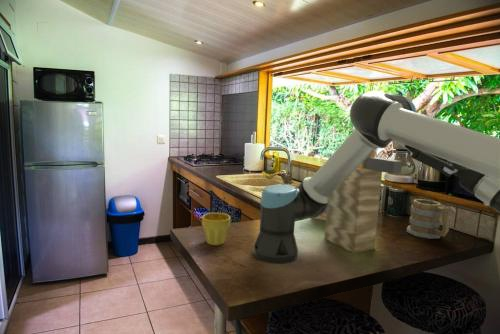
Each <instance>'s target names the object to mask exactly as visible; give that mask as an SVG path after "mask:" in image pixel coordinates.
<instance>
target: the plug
mask: <svg viewBox="0 0 500 334" xmlns="http://www.w3.org/2000/svg"><path fill="white" fill-rule="evenodd" d="M402 165H403V161H402V160H396V159H391V158H382V157H378V156H377V157H376V150H375V151H374V152H373V153H372V154H371V155H370V156H369V157H368V158H367V159H366V160H365V161H364V162H363V163H362V164H361V165H360V166H359V167H358V168H365V169H370V170H375V171H380V172H382V173H386V174H392V175H396V174H397V175H398V174H402V167H403V166H402Z"/></svg>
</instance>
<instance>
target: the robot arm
mask: <svg viewBox="0 0 500 334" xmlns="http://www.w3.org/2000/svg"><path fill="white" fill-rule="evenodd" d="M349 118H350V122H351V125H352V126H353V127H354V130H353V131H352V132H351V133H350V135H348V137H347V138H346V139H345V140H344V141H343V142H342V143H341V144H340V146H339V147H338V148H337V149H336V150H335V151H334V152H333V153H332V154H331V156H330V157H329V158H328V159H327V160H326V161H325V162H324V163H323V164H322V166H320V168H319V169H318V170H317V171H316V172H315V173H314V174H313V175H312V176H306V177H305V178H304V179H303V180H302V181H301V182H300V183H299V185H297V186H296V187H295V186H294V185H292V184H291V185H290V184H273V185H269V186H266V187H265V188H263V190H262V191H261V199H260V212H259V213H260V214H259V215H260V216H259V217H260V218H259V219H260V220H259V232H258V235H257V236H256V240H255V242H254V245H253V256H254V257H255V258H256V259H258V260H261V261H262V262H267V263H269V264H270V263H271V264H273V263H274V264H287V263H288V264H289V263H291V262H294V261H296V260H297V259H298V256H299V248H298V243H297V241H296V237H295V226H296V225H295V222H300V221H303V220H309V219H315V217H318V216H320V215H322V214H323V213H324V212H325V211H326V210H327V208H328V206H329V204H328V203H329V202H330V200H331V193H332V192H333V191H334V190H335V189H336V188H337V187H338V186H339V185H340V184H342V183H343V182H344V181H345V180H346V179H347V178H348V177H349V176H350V175H351V174H352V173H353V172H354V171H355V170H356V169H357V168H358V167H359V166H360V165H361V164H362V163H363V162H364V161H365V160H366V159H367V158H368V157H369V156H370V155H371V154H372V153H373V152H374V151H375V152H376V150H377V149H385V148H387V146H388V145H390V144H391V143H392V142H393V141H396V143H397V144H398V145H400V146H401V147H403V148H404V149H406V150H407V151H408V152H410V153H411V155H410V158H412V159H413V160H415V161H417V162H420V163H421V164H424V165H425V166H427V167H430V168H432V169H434V170H436V171H438V172H440V173H441V174H443V175H445V176H446V177H449V178H450V177H451V176H452V175H453V176H455V177H458V178H459V182H458V184H459V187H461V188H462V189H464V190H465V191H467V192H468V193H470V194H471V195H474V197H475V198H477V199H478V200H480V201H481V202H482V203H483V206H487V207H488V206H489V207H490V208H491V209H493V210H495V211H496V212H497V213H498V214H500V138H499V137H496V136H493V135H490V134H486V133H483V132H480V131H477V130H473V129H470V128H467V127H464V126H461V125H457V124H454V123H451V122H447V121H445V120H441V119H438V118H434V117H431V116H429V115H425V114H421V113H418V112H417V108H416V106H415V104H414V102H413V101H412V100H411V99H410V98H408V97H406V96H404V95H401V94H399V93H390V92H385V91H384V92H383V91H378V90H372V91H367V92H364V93H362V94H360V95H359V96H358V97H357V98H356V99H354V101H353V103H352V105H351V107H350V110H349Z"/></svg>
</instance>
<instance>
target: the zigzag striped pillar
mask: <svg viewBox="0 0 500 334" xmlns="http://www.w3.org/2000/svg"><path fill="white" fill-rule="evenodd" d="M382 176H383V172H380V171H375V170H370V169H365V168H357V169H356V170H355V171H354V172H353V173H352V174H351V175H350V176H349V177H348V178H347V179H346V180H345V181H344V182H343V183H342V184H340V185H339V186H338V187H337V188H336V189H335V190H334V191H333V192H332V193H331V200H330V202H329V203H328V204H329V206H328V208H327V212H326V220H325V228H324V239H325V240H327V241H329V242H331V243H332V244H336V245H337V246H339V247H341V248H343V249H345V250H348V251H350V252H352V253H353V254H358V253H362V252H368V251H371V250H375V247H376V238H377V226H378V218H379V209H380V208H379V207H380V206H379V205H380V197H381V188H382V187H381V186H382V178H383V177H382Z"/></svg>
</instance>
